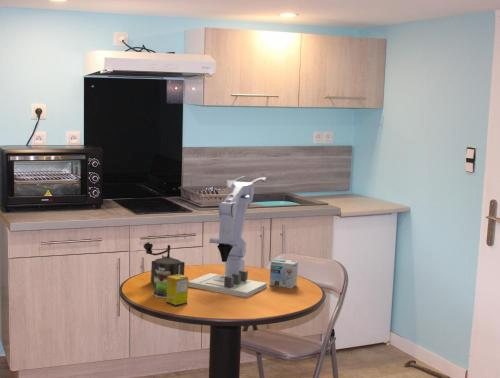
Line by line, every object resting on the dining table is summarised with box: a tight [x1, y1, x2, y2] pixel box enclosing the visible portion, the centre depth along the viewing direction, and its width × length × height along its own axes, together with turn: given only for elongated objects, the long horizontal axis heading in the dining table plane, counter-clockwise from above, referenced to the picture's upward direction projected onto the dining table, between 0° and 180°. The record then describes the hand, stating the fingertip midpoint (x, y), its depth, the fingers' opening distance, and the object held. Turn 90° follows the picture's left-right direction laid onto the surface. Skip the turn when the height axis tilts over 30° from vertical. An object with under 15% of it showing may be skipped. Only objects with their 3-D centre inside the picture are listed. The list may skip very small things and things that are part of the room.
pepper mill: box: [143, 242, 186, 284], centre depth 304 cm, size 16×11×18 cm
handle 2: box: [239, 269, 249, 281], centre depth 308 cm, size 2×3×4 cm
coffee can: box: [153, 257, 181, 299], centre depth 287 cm, size 10×10×14 cm
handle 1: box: [224, 276, 234, 288], centre depth 297 cm, size 2×3×4 cm
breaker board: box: [188, 272, 268, 298], centre depth 305 cm, size 19×28×2 cm
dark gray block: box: [232, 273, 241, 284], centre depth 303 cm, size 2×3×4 cm
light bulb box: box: [269, 258, 299, 289], centre depth 312 cm, size 11×7×11 cm, turn 68°
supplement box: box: [166, 274, 189, 308], centre depth 276 cm, size 6×6×11 cm
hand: (224, 261), depth 306 cm, fingers closed
